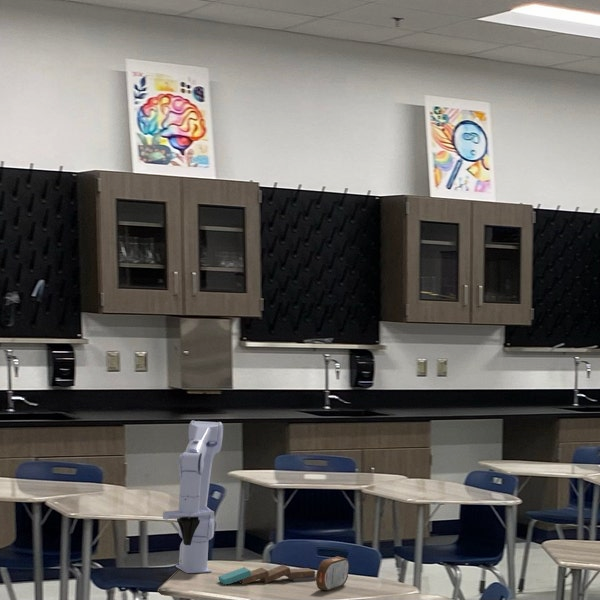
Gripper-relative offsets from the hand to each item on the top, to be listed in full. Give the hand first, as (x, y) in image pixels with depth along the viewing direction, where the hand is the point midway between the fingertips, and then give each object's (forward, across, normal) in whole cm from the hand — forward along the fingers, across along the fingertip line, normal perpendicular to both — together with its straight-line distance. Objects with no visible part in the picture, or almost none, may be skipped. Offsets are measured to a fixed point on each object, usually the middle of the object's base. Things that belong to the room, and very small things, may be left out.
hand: (187, 544), depth 324 cm
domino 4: (+10, +31, -4) cm, 33 cm away
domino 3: (+9, +30, -4) cm, 31 cm away
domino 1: (+10, +15, -4) cm, 18 cm away
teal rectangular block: (+10, +9, -4) cm, 14 cm away
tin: (+11, +38, -16) cm, 43 cm away
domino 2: (+10, +22, -4) cm, 24 cm away
